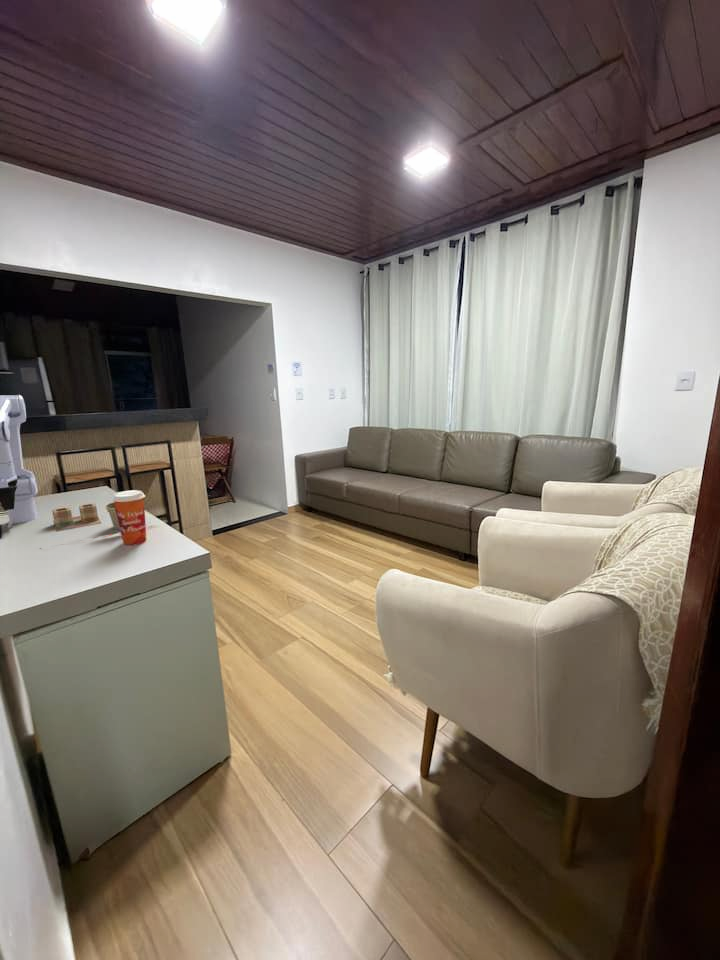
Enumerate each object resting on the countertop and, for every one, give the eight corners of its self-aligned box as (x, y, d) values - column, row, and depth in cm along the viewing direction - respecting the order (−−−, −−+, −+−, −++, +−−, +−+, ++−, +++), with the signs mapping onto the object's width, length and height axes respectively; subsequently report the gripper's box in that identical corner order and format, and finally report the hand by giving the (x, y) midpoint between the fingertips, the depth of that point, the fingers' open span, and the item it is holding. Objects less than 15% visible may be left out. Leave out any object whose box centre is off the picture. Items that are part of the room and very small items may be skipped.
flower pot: (131, 534, 118) (127, 508, 116) (101, 534, 118) (97, 508, 116) (148, 524, 127) (144, 499, 125) (120, 524, 128) (117, 499, 126)
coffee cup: (117, 548, 107) (109, 498, 104) (120, 539, 114) (113, 491, 111) (150, 543, 111) (144, 494, 108) (151, 534, 118) (145, 488, 115)
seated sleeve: (81, 519, 129) (78, 505, 127) (96, 516, 131) (94, 503, 130) (82, 522, 125) (80, 508, 124) (98, 519, 128) (96, 505, 127)
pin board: (53, 523, 128) (51, 509, 127) (96, 516, 135) (93, 502, 134) (56, 535, 117) (53, 519, 116) (102, 526, 125) (99, 511, 124)
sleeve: (54, 524, 124) (51, 509, 123) (71, 521, 127) (68, 506, 126) (56, 527, 121) (53, 512, 120) (73, 524, 124) (70, 509, 123)
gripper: (-18, 461, 113) (-8, 504, 116) (-22, 467, 103) (-11, 515, 106) (14, 458, 118) (22, 499, 121) (13, 464, 107) (22, 510, 110)
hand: (9, 506), depth 113 cm, fingers open, 7 cm apart
